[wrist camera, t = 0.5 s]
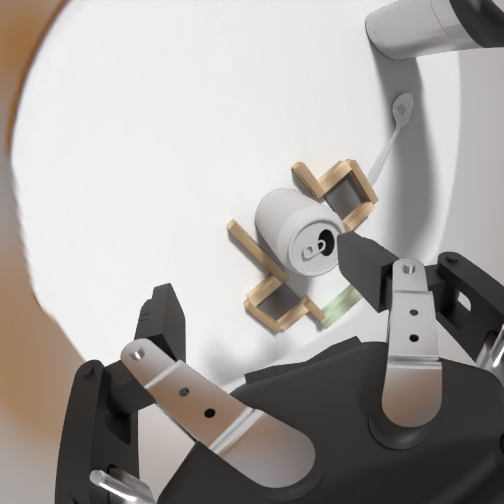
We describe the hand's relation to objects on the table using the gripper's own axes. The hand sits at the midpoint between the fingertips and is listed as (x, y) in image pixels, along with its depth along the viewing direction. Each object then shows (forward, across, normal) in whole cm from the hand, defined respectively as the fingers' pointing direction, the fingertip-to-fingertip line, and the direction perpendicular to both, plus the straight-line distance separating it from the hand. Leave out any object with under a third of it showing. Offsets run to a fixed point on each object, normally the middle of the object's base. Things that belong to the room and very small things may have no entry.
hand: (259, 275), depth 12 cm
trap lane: (+23, -11, +12) cm, 28 cm away
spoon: (+24, -26, -1) cm, 35 cm away
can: (+23, -7, +6) cm, 25 cm away
